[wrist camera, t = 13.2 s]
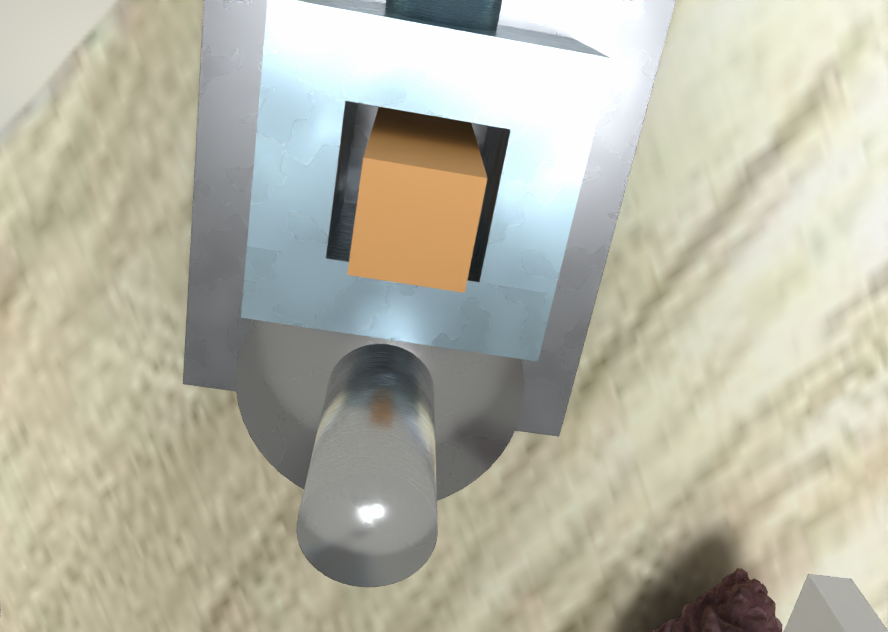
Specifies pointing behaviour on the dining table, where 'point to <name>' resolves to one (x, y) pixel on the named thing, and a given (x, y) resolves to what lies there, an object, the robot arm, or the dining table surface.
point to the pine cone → (728, 609)
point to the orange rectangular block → (418, 201)
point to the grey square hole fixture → (390, 303)
